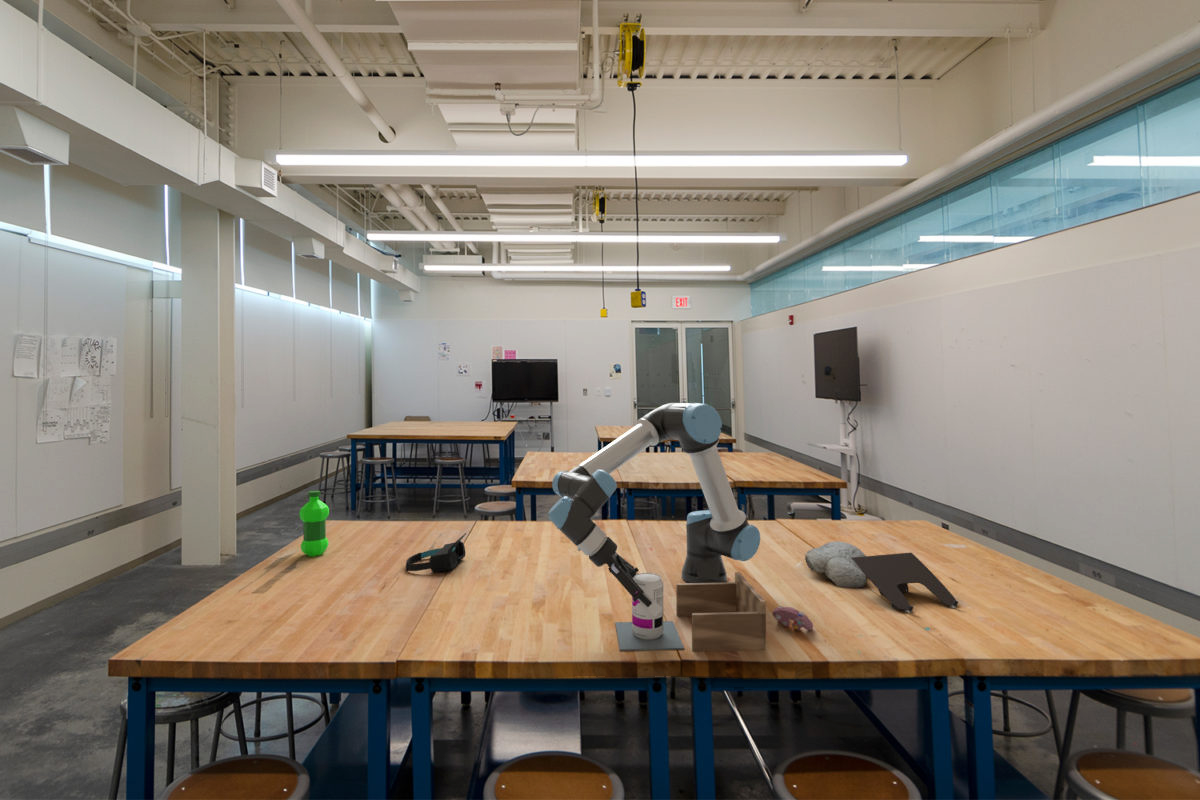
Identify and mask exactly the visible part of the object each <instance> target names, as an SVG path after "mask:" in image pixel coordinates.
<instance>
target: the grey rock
mask: <svg viewBox="0 0 1200 800" xmlns="http://www.w3.org/2000/svg"><path fill="white" fill-rule="evenodd" d="M804 555H805V556H804V557H805V558H804V561H805V563H806V566H807V567H808V568H809V570H811V572H817V573H820V574H822V573H823V574H825V576H826V577H827V578H828V579H829V580H831V581H832V582H833V583H834V584H835V586H837V587H839V588H846V589H847V588H849V589H852V588H853V589H855V588H864V587H865V586H866V584H867V578H868V577H867V576H866V575H865V574H864V573H863V571H862V570H861V569H860V568H859V566H858V565H857V564H856V563H855V562H854V560H852V559H851V558H852V557H864V556H867V555H866V554H865V553H864V552H863V551H862V550H861V549H860V548H858V547H857V546H856V545H853V544H851V543H848V542H845V541H837V540H836V541H830V542H829V541H828V542H826V543H825V544H823V545H821V546H818V547H816V548H815V547H814V548H811V549H810V550H807V552H806V553H804Z"/></svg>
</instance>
